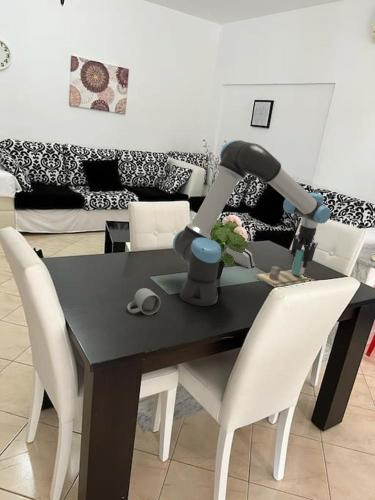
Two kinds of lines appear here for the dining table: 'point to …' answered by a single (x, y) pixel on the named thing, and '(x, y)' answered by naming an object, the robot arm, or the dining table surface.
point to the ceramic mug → (145, 302)
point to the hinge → (242, 257)
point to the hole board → (282, 277)
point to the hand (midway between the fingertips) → (297, 271)
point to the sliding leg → (298, 262)
